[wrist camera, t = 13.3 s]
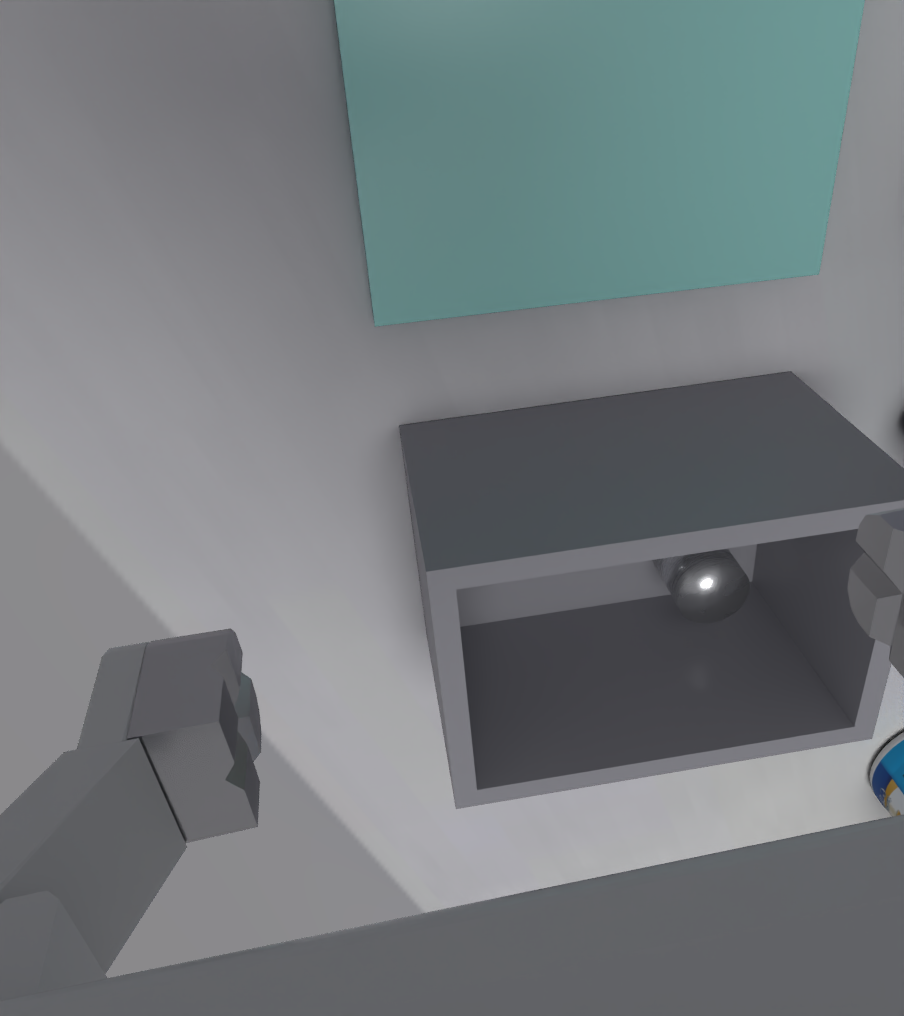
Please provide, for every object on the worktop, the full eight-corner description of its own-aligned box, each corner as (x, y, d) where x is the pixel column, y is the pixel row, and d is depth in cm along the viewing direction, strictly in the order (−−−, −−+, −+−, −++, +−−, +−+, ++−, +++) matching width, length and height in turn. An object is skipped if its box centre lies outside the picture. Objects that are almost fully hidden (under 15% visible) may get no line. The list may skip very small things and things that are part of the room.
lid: (302, -246, 27) (302, -259, 26) (892, -286, 29) (928, -300, 27) (373, 316, 38) (376, 333, 36) (805, 265, 39) (828, 280, 37)
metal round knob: (652, 524, 44) (680, 570, 41) (720, 514, 45) (753, 559, 41) (649, 580, 46) (676, 628, 43) (715, 570, 47) (746, 617, 43)
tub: (399, 425, 40) (426, 571, 31) (791, 371, 42) (935, 495, 32) (426, 636, 47) (455, 808, 38) (761, 584, 49) (871, 738, 39)
